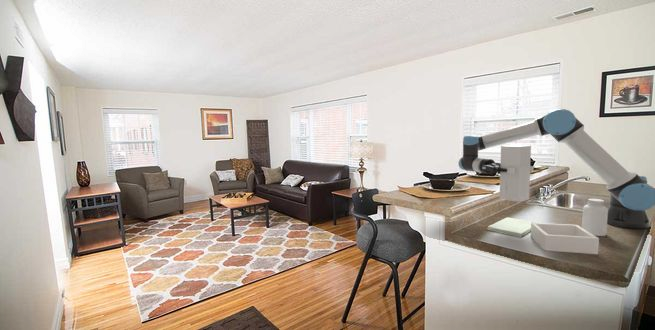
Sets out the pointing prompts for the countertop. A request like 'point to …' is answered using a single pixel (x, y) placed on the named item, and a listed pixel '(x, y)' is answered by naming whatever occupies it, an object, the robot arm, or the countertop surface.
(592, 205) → the pill bottle
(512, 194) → the tall white carton
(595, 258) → the countertop surface
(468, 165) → the robot arm
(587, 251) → the tray
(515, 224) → the cutting board
